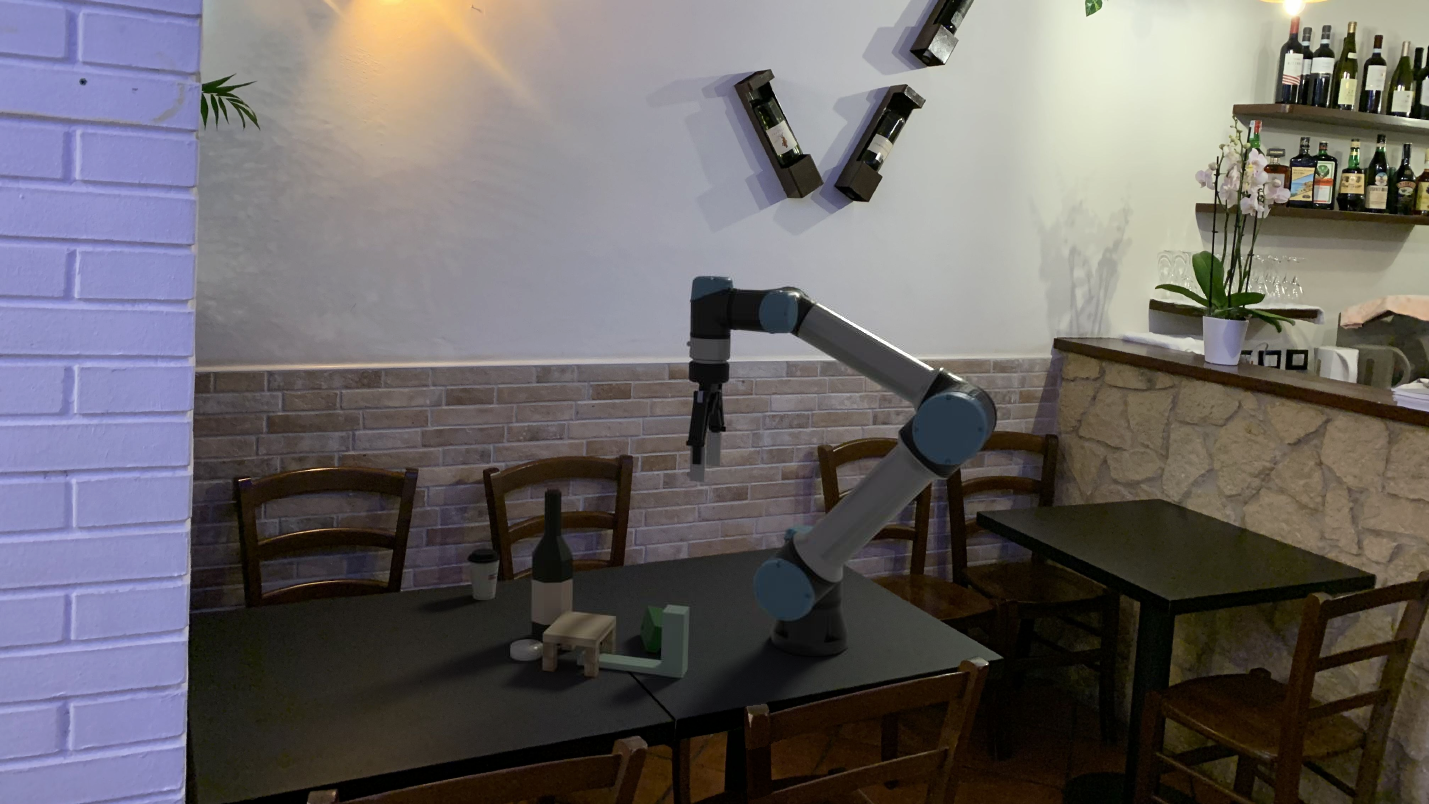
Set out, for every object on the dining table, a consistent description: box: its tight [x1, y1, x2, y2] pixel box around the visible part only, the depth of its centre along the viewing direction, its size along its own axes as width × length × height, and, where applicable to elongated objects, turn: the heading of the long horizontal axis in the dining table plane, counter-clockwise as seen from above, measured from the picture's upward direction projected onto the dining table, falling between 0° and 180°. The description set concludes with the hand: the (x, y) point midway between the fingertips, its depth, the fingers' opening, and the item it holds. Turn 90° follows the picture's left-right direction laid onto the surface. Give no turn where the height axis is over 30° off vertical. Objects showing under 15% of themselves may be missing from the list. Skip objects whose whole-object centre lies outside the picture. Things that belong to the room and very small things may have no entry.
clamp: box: [639, 604, 665, 654], centre depth 208 cm, size 12×6×9 cm
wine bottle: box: [530, 486, 574, 646], centre depth 207 cm, size 8×8×30 cm
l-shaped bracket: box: [576, 604, 690, 679], centre depth 196 cm, size 20×4×12 cm, turn 78°
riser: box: [542, 610, 617, 678], centre depth 198 cm, size 10×12×7 cm
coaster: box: [509, 638, 543, 662], centre depth 201 cm, size 6×6×2 cm
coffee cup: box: [466, 547, 501, 601], centre depth 230 cm, size 7×7×10 cm
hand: (705, 473), depth 200 cm, fingers open, 13 cm apart
